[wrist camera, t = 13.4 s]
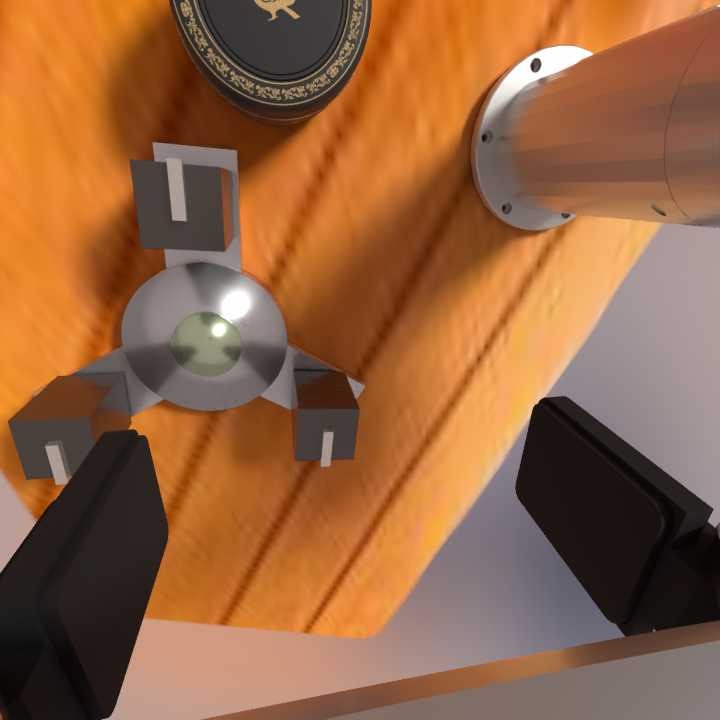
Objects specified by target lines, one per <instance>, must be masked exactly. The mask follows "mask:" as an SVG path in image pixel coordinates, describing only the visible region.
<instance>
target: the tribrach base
mask: <svg viewBox="0 0 720 720" xmlns="http://www.w3.org/2000/svg"><path fill="white" fill-rule="evenodd" d="M152 143H153V152H154V161H156V162H167V160H166V158H175V159H183V164H190V165H201V166H212V167H221V168H224V169H227V170H230V171H231V182H232V204H233V227H234V239H233V241H232V242H231V244H230V245H229V247H228V248H227V250H226V251H225V252H215V251H194V250H172V249H164V252H165V261H166V268H165V269H163V270H161V271H160V272H158V273H157V274H155V275H154V276H152V277H151V278H150V279H149V280H147V281H146V282H145V283H144V284H143V285H142V286H140V288H139V289H138V290H137V291H136V292H135V293H134V295H133V296H132V298H131V300H130V301H129V303H128V305H127V307H126V310H125V312H124V316H123V320H122V328H121V337H122V345H121V346H119V347H117V348H115V349H113V350H111V351H110V352H108V353H106V354H104V355H102V356H100V357H98V358H96V359H95V360H93V361H91V362H89V363H87V364H85V365H83V366H81V367H80V368H78V369H76V370H74V371H72V372H70V373H68V374H66V375H64V376H77V375H114V374H123V379H124V384H125V390H126V395H127V401H128V406H129V411H130V417H132V416H134V415H136V414H138V413H139V412H141V411H143V410H145V409H147V408H149V407H151V406H153V405H154V404H156V403H158V402H160V401H162V400H164V399H165V400H167V401H169V402H171V403H173V404H176V405H179V406H182V407H185V408H189V409H194V410H202V411H217V410H225V409H230V408H234V407H237V406H241V405H243V404H245V403H248V402H250V401H252V400H253V399H255V398H256V397H258V396H261V397H263V398H265V399H268V400H270V401H272V402H274V403H276V404H278V405H281V406H283V407H285V408H287V409H289V410H291V409H292V390H293V371H325V372H345V371H343V370H341V369H339V368H337V367H335V366H333V365H332V364H330V363H328V362H326V361H324V360H322V359H320V358H318V357H317V356H315V355H313V354H311V353H309V352H307V351H305V350H304V349H302V348H300V347H298V346H296V345H294V344H292V343H290V342H289V341H287V331H286V324H285V319H284V316H283V313H282V310H281V308H280V306H279V304H278V302H277V300H276V299H275V297H274V296H273V294H272V293H271V292H270V290H269V289H268V288H267V287H266V286H265V285H264V284H263V283H262V282H261V281H260V280H258V279H257V278H256V277H254V276H253V275H251V274H250V273H248V272H247V271H245V270H243V269H242V252H241V225H240V198H239V171H238V151H237V150H228V149H218V148H208V147H197V146H187V145H177V144H167V143H157V142H152ZM345 374H346V376H347V379H348V381H349V384H350V386H351V388H352V391H353V393H354V396H355V398H356V399H357V398H358V396H359V395H360V394H361V392H362V391H363V389H364V388H365V387H366V386H365V384H364V382H363V381H361V380H360V379H358V378H356V377H354V376H352V375H350V374H348V373H346V372H345ZM49 384H50V383H49ZM46 386H47V385H46ZM46 386H44V387H42V388H40V389H39V390H38V391H37V392H35V393H34V394H33V395H34V396H36V395H37V394H39V393H40V392H41V391H42V390H43V389H44V388H45V387H46Z"/></svg>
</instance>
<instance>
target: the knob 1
mask: <svg viewBox="0 0 720 720" xmlns="http://www.w3.org/2000/svg"><path fill="white" fill-rule="evenodd" d="M131 423H132V422H131V417H130V411H129V406H128V401H127V395H126V390H125V384H124V379H123V374H114V375H77V376H57V377H56V378H55V379H54V380H53V381H52V382H51V383H50V384H48V385H47V386H46V387H45V388H44V389H43V390H42V391H41V392H40V393H39V394H37V395H36V396H35V397H34V398H33V399H32V400H31V401H30V402H29V403H27V404H26V405H25V406H24V407H23V408H22V409H21V410H20V411H19V412H17V413H16V414H15V415H14V416H13V417H12V418H11V419H10V420H9V421H8V424H9V427H10V430H11V433H12V436H13V439H14V442H15V445H16V448H17V451H18V454H19V458H20V461H21V464H22V467H23V470H24V473H25V476H26V479H27V480H29V479H43V478H54V479H55V482H56V485H60V484H67V483H68V482H69V480H70V479H71V476H73V475H74V473H75V472H76V470H77V469H78V468H79V466H80V465H81V463H82V462H83V461H84V459H85V458H86V456H87V455H88V453H89V452H90V451H91V449H92V448H93V446H94V445H95V443H96V442H97V441H98V439H99V438H100V436H101V435H102V434H103V433H104V432H107V431H119V430H128V429H129V427H130V425H131Z"/></svg>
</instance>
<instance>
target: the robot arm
mask: <svg viewBox="0 0 720 720" xmlns="http://www.w3.org/2000/svg"><path fill="white" fill-rule="evenodd" d="M530 66H531V69H530ZM482 135H483V136H484V141H482ZM471 167H472V175H473V179H474V182H475V186H476V189H477V192H478V194H479V196H480V198H481V199H482V201H483V203H484V205H485V206H486V207H487V208H488V209H489V211H490V212H491V213H492V214H493V215H494V216H495V217H497V218H498V219H499V220H501V221H502V222H503V223H506V224H508V225H510V226H512V227H516V228H520V229H525V230H538V231H539V230H545V229H551V228H554V227H557V226H560V225H562V224H565V223H566V222H568V221H570V220H572V219H573V218H575V217H577V216H578V215H587V216H597V217H608V218H618V219H629V220H639V221H649V222H660V223H670V224H681V225H692V226H701V227H713V228H720V4H717V5H715V6H712V7H710V8H707V9H705V10H702V11H700V12H697V13H695V14H693V15H690V16H688V17H685V18H683V19H680V20H678V21H675V22H673V23H670V24H668V25H665V26H663V27H660V28H658V29H655V30H653V31H650V32H648V33H645V34H643V35H640V36H638V37H635V38H633V39H630V40H628V41H625V42H623V43H621V44H618V45H616V46H613V47H611V48H608V49H606V50H603V51H601V52H598V53H596V54H594V53H592V52H591V51H589V50H587V49H584V48H581V47H578V46H575V45H556V46H551V47H546V48H543V49H541V50H538V51H536V52H534V53H532V54H529V55H528V56H526V57H524V58H523V59H521V60H520V61H518V62H516V63H515V64H514V65H513V66H511V67H510V68H509V69H508V70H507V71H506V72H505V73H504V74H503V75H502V76H501V77H500V78H499V79H498V81H497V82H496V83H495V85H494V86H493V87H492V88H491V90H490V92H489V93H488V95H487V97H486V99H485V101H484V102H483V104H482V106H481V109H480V111H479V114H478V117H477V120H476V122H475V126H474V131H473V136H472V141H471ZM502 206H503V210H502ZM515 488H516V494H517V497H518V499H519V500H520V502H521V503H522V505H523V506H524V507H525V508H526V510H527V511H528V513H529V514H530V515H531V517H532V518H533V519H534V521H535V522H536V523H537V525H538V526H539V528H540V529H541V530H542V531H543V533H544V534H545V535H546V537H547V539H548V540H549V541H550V543H551V544H552V545H553V547H554V548H555V549H556V551H557V552H558V553H559V555H560V556H561V557H562V559H563V560H564V562H565V563H566V564H567V566H568V567H569V568H570V570H571V571H572V572H573V574H574V575H575V577H577V579H578V581H579V582H580V583H581V585H582V586H583V587H584V589H585V590H586V591H587V593H588V594H589V596H590V597H591V598H592V600H593V601H594V602H595V604H596V605H597V606H598V608H599V609H600V610H601V612H602V613H603V614H604V616H605V617H606V618H607V619H608V620H609V621H610V622H612V623H615V624H616V625H617V626H618V627H619V629H620V630H621V631H622V633H623V634H624V635H625V637H623V638H617V639H612V640H606V641H601V642H596V643H590V644H585V645H580V646H575V647H569V648H563V649H558V650H553V651H548V652H542V653H537V654H532V655H527V656H522V657H516V658H511V659H506V660H501V661H495V662H491V663H486V664H480V665H475V666H469V667H464V668H459V669H454V670H449V671H444V672H438V673H434V674H428V675H424V676H418V677H413V678H408V679H402V680H398V681H392V682H387V683H382V684H377V685H372V686H366V687H362V688H356V689H351V690H346V691H341V692H336V693H332V694H327V695H322V696H316V697H311V698H306V699H301V700H297V701H292V702H287V703H281V704H276V705H271V706H266V707H262V708H256V709H251V710H246V711H241V712H236V713H231V714H227V715H221V716H216V717H211V718H207V719H202V720H720V523H719V524H718V525H717V527H716V528H715V527H713V526H712V525H711V524H710V523H708V522H707V521H708V519H709V517H710V515H711V513H712V511H713V508H711V507H710V506H709V505H707V504H706V503H705V502H704V501H702V500H701V499H700V498H698V497H697V496H696V495H694V494H693V493H692V492H690V491H689V490H688V489H687V488H685V487H684V486H683V485H681V484H680V483H679V482H678V481H676V480H675V479H674V478H672V477H671V476H670V475H668V474H667V473H666V472H664V471H663V470H662V469H661V468H659V467H658V466H656V465H655V464H654V463H653V462H651V461H650V460H649V459H648V458H646V457H645V456H644V455H642V454H641V453H640V452H638V451H637V450H636V449H634V448H633V447H632V446H631V445H629V444H628V443H627V442H625V441H624V440H623V439H621V438H620V437H619V436H617V435H616V434H615V433H614V432H612V431H611V430H610V429H608V428H607V427H606V426H604V425H603V424H602V423H600V422H599V421H598V420H597V419H595V418H594V417H593V416H591V415H590V414H589V413H588V412H586V411H585V410H583V409H582V408H581V407H580V406H578V405H577V404H576V403H574V402H573V401H572V400H571V399H569V398H567V397H566V396H561V397H547V398H542V399H541V400H540V401H539V402H538V404H536V405H535V406H534V407H533V410H532V415H531V419H530V423H529V428H528V432H527V437H526V441H525V446H524V450H523V454H522V459H521V464H520V468H519V473H518V477H517V481H516V487H515ZM167 541H168V523H167V519H166V515H165V511H164V506H163V502H162V498H161V494H160V490H159V485H158V481H157V477H156V473H155V469H154V464H153V460H152V456H151V452H150V448H149V444H148V440H147V438H146V436H145V435H138V433H137V431H136V430H134V429H132V430H119V431H107V432H104V433H103V434H102V435H101V436H100V438H99V439H98V441H97V442H96V443H95V445H94V446H93V448H92V449H91V451H90V452H89V453H88V455H87V456H86V458H85V459H84V461H83V462H82V463H81V465H80V466H79V468H78V469H77V470H76V472H75V473H74V475H73V476H72V478H71V479H70V480H69V482H68V483H67V485H66V486H65V487H64V489H63V490H62V492H61V493H60V495H59V496H58V497H57V499H56V500H54V501H53V502H52V503H51V504H50V505H49V506H48V507H47V509H46V510H45V511H44V513H43V514H42V516H41V517H40V518H39V520H38V521H37V523H36V524H35V525H34V527H33V528H32V530H31V531H30V533H29V534H28V535H27V537H26V538H25V539H24V541H23V542H22V544H21V545H20V546H19V548H18V549H17V551H16V552H15V553H14V555H13V556H12V558H11V559H10V561H9V562H8V563H7V565H6V566H5V567H4V569H3V570H2V572H1V573H0V720H102V719H106V718H109V717H110V716H111V714H112V712H113V711H114V708H115V706H116V703H117V699H118V696H119V693H120V690H121V687H122V684H123V681H124V677H125V674H126V671H127V668H128V665H129V662H130V658H131V655H132V652H133V649H134V646H135V643H136V640H137V636H138V633H139V630H140V626H141V624H142V621H143V617H144V614H145V611H146V608H147V605H148V602H149V598H150V595H151V592H152V589H153V586H154V583H155V579H156V576H157V573H158V570H159V567H160V564H161V561H162V557H163V554H164V551H165V548H166V545H167ZM653 629H655V630H656V631H655V632H652V631H653Z"/></svg>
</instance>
